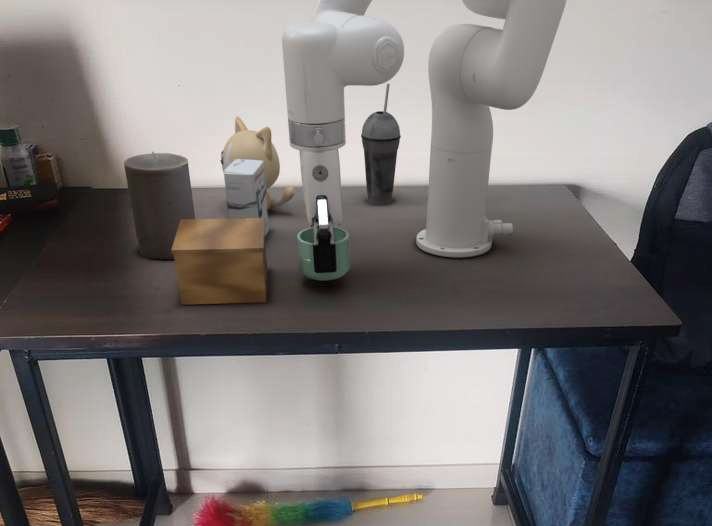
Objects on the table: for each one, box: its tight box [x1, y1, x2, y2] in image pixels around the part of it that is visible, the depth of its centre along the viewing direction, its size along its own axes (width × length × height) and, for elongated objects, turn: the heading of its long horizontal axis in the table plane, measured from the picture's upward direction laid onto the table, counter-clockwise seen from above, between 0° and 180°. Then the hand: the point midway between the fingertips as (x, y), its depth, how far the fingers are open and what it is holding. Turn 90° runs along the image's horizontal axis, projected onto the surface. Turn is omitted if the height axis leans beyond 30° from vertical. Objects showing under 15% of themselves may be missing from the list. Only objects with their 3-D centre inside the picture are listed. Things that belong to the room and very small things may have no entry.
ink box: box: [223, 159, 270, 237], centre depth 126 cm, size 9×5×12 cm, turn 174°
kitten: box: [219, 116, 296, 211], centre depth 137 cm, size 15×10×15 cm
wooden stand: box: [171, 218, 268, 306], centre depth 111 cm, size 12×12×8 cm
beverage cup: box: [360, 83, 402, 206], centre depth 140 cm, size 7×7×20 cm
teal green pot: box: [296, 225, 351, 281], centre depth 112 cm, size 8×8×6 cm
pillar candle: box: [123, 151, 196, 260], centre depth 121 cm, size 10×10×15 cm
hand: (324, 259), depth 113 cm, fingers closed on teal green pot, 7 cm apart
